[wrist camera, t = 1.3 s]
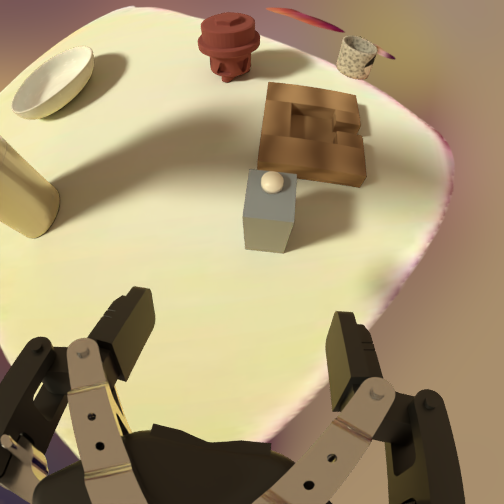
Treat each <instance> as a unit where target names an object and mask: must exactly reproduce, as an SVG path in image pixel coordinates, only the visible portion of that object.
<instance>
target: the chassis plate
mask: <svg viewBox="0 0 504 504" xmlns="http://www.w3.org/2000/svg"><path fill="white" fill-rule="evenodd" d="M360 126H361V124H360V117H359V111H358V105H357V99H356V95H352V94H347V93H342V92H337V91H331V90H326V89H320V88H314V87H307V86H300V85H292V84H284V83H274V82H268V89H267V96H266V103H265V110H264V118H263V125H262V132H261V139H260V147H259V154H258V163H257V170H264V171H275V172H282V173H291V174H297V178H298V179H306V180H313V181H320V182H327V183H333V184H340V185H346V186H352V187H358V188H360V186H361V185H362V183H363V181H364V180H365V178H366V177H367V175H366V165H365V155H364V146H363V138H362V136H361V135H357V133H358V131H359V129H360Z"/></svg>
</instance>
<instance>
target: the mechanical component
mask: <svg viewBox="0 0 504 504" xmlns="http://www.w3.org/2000/svg"><path fill="white" fill-rule="evenodd" d="M201 31H202V35H201V36H200V37H199V39H198V46H199V50H200V51H201V52H202V53H203V54H205V55H207V56H210V65H211V70H212V72H213V73H215V74H217V75H219V76H222V81H223V82H230V81H231V80H232V79H233V78H235V77H236V76H238V75H241V74H244V73H247V72H249V71H250V67H251V52H253V51H255V50H256V49H257V48H258V47H259V45H260V35H259V33H258V32H257V31H255V20H254V19H253V18H252V17H251V16H248V15H245V14H241V13H230V12H227V13H221V14H218V15H214V16H211V17H209V18H207V19H205V20H204V21H203V22H202V23H201Z"/></svg>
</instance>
